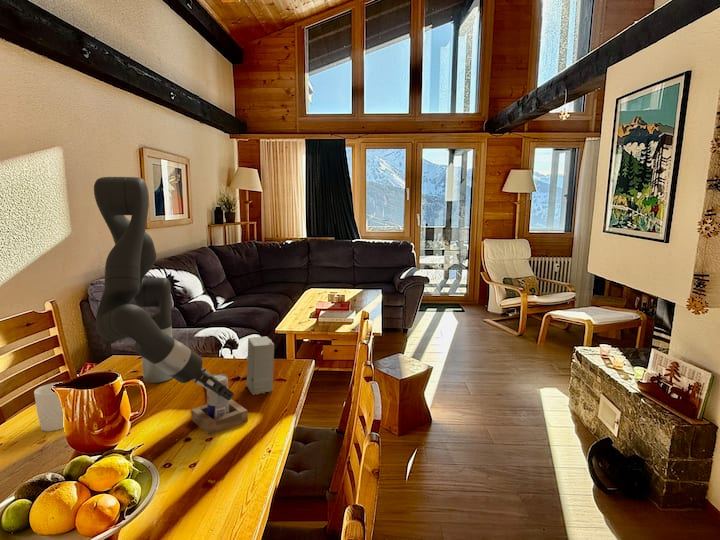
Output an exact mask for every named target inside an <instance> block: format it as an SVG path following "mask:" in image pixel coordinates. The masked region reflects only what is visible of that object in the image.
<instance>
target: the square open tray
mask: <svg viewBox="0 0 720 540" xmlns="http://www.w3.org/2000/svg"><path fill="white" fill-rule="evenodd" d="M248 413H249V412H248V409H246V408H245V407H243V406H242V405H241V404H239V403H238V402H236V401H234V400H233V399H232V398H231V399H230V400H229V413H228V414H226V415H223V416H220V417H217V418H214V419H212V418H211V417H210V416H208V406H207V403H205V404H202V405H200V406H196V407H194V408H191V409H190V415H191V421H192V422H193V423H195V425H197V426H198V427H199V428H200V429H202V430H203V431H204V432H205V433H206V434H207V435H208V436H212V435H214V434H217V433H219V432H222V431H224V430H227V429H231V428H234V427H235V426H238V425H240V424H243V423H247V422H248V421H249V415H248Z"/></svg>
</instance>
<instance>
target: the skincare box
mask: <svg viewBox="0 0 720 540" xmlns="http://www.w3.org/2000/svg"><path fill="white" fill-rule="evenodd" d="M274 359H275V343H274V342H273V341H272V339H270V338H269V336H267V335H266V336H253V337H252V336H251V337H248V338H247V360H246V363H247V365H246V366H247V367H246V368H247V369H246V387H247V388H248V390H249V391H250V393H251V395H252V396H255V394H256V395H261V394H260V393H262V394H266V393H265V392H269V393H271V392H270V391H272V392H273V387H274V386H273V385H274V366H275V365H274V363H275V360H274Z"/></svg>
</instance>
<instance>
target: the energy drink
mask: <svg viewBox="0 0 720 540" xmlns="http://www.w3.org/2000/svg"><path fill="white" fill-rule="evenodd" d="M212 375H213V376H214V377H216V378H217V379H218V382H220V383H221V384H222V385H225V386H226V387H227V389H229V378H228V375H227V374H223V373H215V374H212ZM212 382H213V381H212ZM219 387H220V386H219ZM219 387H218V388H219ZM218 388H217V389H218ZM216 391H217V390H216ZM206 400H207V402H206V404H207V406H208V416H210V417H211V418H212V419H214V418H217V417H220V416H223V415H226V414H228V413H229V400H227V399H225V398H224V397H222V396H220V395H217V394H216V393H215V392H214V391H212V390H211V391H209V390H207V389H206Z"/></svg>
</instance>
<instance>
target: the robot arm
mask: <svg viewBox="0 0 720 540" xmlns="http://www.w3.org/2000/svg"><path fill="white" fill-rule="evenodd" d="M93 194H94V200H95V202H96V205H97V208H98V211H100V214H101V216H102V218H103V220H104V222H105V223H106V226H107V227H108V230H109V231H110V235H111V237H112V240H113V242H114V246H113V247H112V249H111V250H110V252H109V253H108V255H107V257H106V259H105V267H104V287H103V288H104V289H103V293H102V295H101V298H100V301H99V305H98V309H97V312H96V317H95V327H96V331H97V333H98V335H99V337H100V338H102V340H105V341H107V342H117V341H121V340H124V339H126V338H130V339H132V340H133V341H134V342H135V343H134V350H135V352H136V353H137V354H138V355H139V356H141V361H142V363H141V365H142V379H143V381H144V382H145V383H151V384H159V383H163V382H167V381H169V380H171V379H174V380H176V381H177V382H179V383H181V384H187V383H188V382H191V381H192V382H193V383H195V384H197V385H198V386H201V387H203V388H205V390H206V391H207V390H209V391H211V390H212V391H214V392H215V393H216V394H217V395H220V396H222V397H224V398H225V399H227V400H230V399H232V398H233V397H234V395H235V393H234V392H233V391H231V390H230V389H229V388H228V389H227V387H226V386H225V385H222V384H221V383H220V382H218V379H217V378H216V377H214V376H213V375H214V374H211V373H210V371H209V370H208V369H206V368H204V367H202V366H203V364H204V360H203V358H202V356H200V355H199V354H197V352H195V351H194V350H192V349H191V348H189V347H188V346H187V345H185V344H184V343H182V342H181V341H179V340H176V339H175V338H173V327H172V326H173V325H172V286H171V285H172V284H171V281H170V280H169V278H167V277H147V278H146V277H145V276H146V275H147V274H148V273H149V272H150V270H152V268H153V267H154V265H155V264H156V260H157V251H156V248H155V244H154V241H153V240H154V239H153V238H152V237H151V236H150V235H149V234H148V232H146V227H147V220H148V212H149V204H150V203H149V202H150V199H149V198H150V197H149V195H150V194H149V190H148V185H147V183H146V181H145V180H144V179H143V178H141V177H136V176H102V177H99V178H97V179H96V180H95V182H94V185H93ZM126 216H131V217H130V219H129V218H127V217H126ZM132 300H133V301H134V304H133V303H131V302H132ZM155 307H156V308H158V307H159V310H158V311H156V312H154V313H153V314H149V313H148V312H147V311H146V310H145V309H144V308H155ZM212 381H213V382H212ZM219 386H220V387H219ZM218 387H219V388H218ZM217 388H218V389H217ZM216 390H217V391H216Z"/></svg>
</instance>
